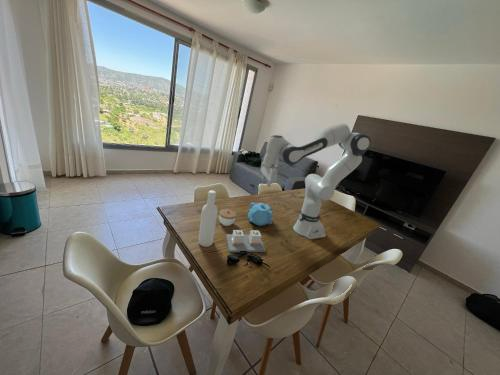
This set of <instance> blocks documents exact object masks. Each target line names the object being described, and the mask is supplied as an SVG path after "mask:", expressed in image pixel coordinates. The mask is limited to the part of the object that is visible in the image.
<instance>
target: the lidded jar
mask: <svg viewBox="0 0 500 375" xmlns="http://www.w3.org/2000/svg"><path fill="white" fill-rule="evenodd" d="M218 213H219V216H218V219H219V222H220V224H221V225H222V226H224V227H230V226H231V225H233V224H234V223H235V221H236V218H237V212H236V211H235V210H232V209H231V208H224V209H221V210H219V212H218Z"/></svg>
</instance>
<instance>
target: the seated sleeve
mask: <svg viewBox="0 0 500 375" xmlns="http://www.w3.org/2000/svg"><path fill="white" fill-rule="evenodd" d="M237 231H240V235H237ZM231 234H232V237H231V241H232V245H243V238H244V232H243V230H242V229H233V230H232V233H231Z"/></svg>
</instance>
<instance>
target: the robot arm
mask: <svg viewBox="0 0 500 375" xmlns="http://www.w3.org/2000/svg"><path fill="white" fill-rule="evenodd" d="M371 143H372V140H371V137H370V136H368V135H367V134H365V133H360V132H351V130H350V127H349V125H348V124H347V123H338V124H334V125H330V126H327V127H325V128H323V129H320V130H318V131H317V132H316V133H315V136H314V139H313V140H312V141H310V142H308V143H306V144H303V145H301V146H295V145H294V144H293V143H291V142H290V141H287V140H286V139H285V138H284V136H282V135H279V134H276V135H271V136H270V137H269V138H268V141H267V144H266V148H265V149H266V150H265V153H264V157H261V164H260V172H261V174H262V179H261V181H262V182H266V179H267V180H268V181H267V183H266V187H268V188H271V184H273V183H276V181H277V177H278V169H277V168H278V166H279V161H280V159H283V162H285V163H286V164H287V165H291V166H294V165H296V164H298V163H299V162H301V161H302V160H303V159H305V158H306V157H308V156H311V155H314V154H316V153H318V152H319V151H322V150H324V149H326V148H330V147H332V146H335V145H338V146H339V147H340V148H341V149H342V150H344V153H343V155H342V156H340V157H339V158H338V159H336V160H335V161H334V162H333V163H331V164H330V165H329V166H328V167H327V168H326V173H324V176H321V175H319V174H316V173H310V174H308V175H307V176H306V177H305V179H304V184H305V189H304V190H305V192H304V200H303V204H302V206H301V209H300V211H299V215H298V218H297V221H296V222H295V224H294V225H293V227H292V228H293V230H294V232H295V233H297V234H298V235H300V236H302V237H305V238H307V239H308V240H313V239H319V238H321V239H322V238H326V236H327V234H326V232H325V231H324V230H325V229H324V228H325V227H324V225H323V223H322V222H321V221H322V220H323V217H322V216H321V215H319V214H320V211H321V208H322V201H329V200H330V199H332V198H333V197H334V195H335V189H336V188H337V186H338V185H339V183H340V182H341V181H342V180H343V179H344V178H346V177H347V176H348V175H350V174H351V173H352V172H353V171H354V170H355V169H356V168H357V167H359V165H360V164H361V163H362V161H363V157H362V156H363V155H365V153H366V152H367V151H368V150H369V149H370V147H371Z"/></svg>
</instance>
